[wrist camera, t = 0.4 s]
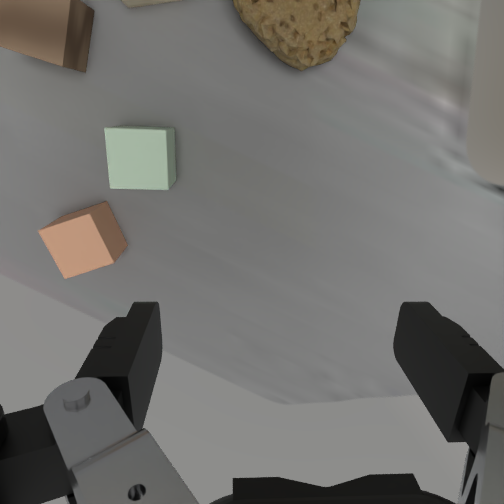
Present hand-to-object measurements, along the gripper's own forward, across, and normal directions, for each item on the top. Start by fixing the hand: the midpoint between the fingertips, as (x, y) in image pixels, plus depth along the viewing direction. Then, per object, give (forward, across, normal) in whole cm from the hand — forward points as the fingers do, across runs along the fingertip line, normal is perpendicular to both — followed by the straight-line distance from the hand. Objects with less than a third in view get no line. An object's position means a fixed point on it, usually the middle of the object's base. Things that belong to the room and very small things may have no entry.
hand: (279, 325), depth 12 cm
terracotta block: (+27, +16, +6) cm, 32 cm away
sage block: (+27, +10, -2) cm, 29 cm away
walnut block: (+28, +17, -12) cm, 34 cm away
